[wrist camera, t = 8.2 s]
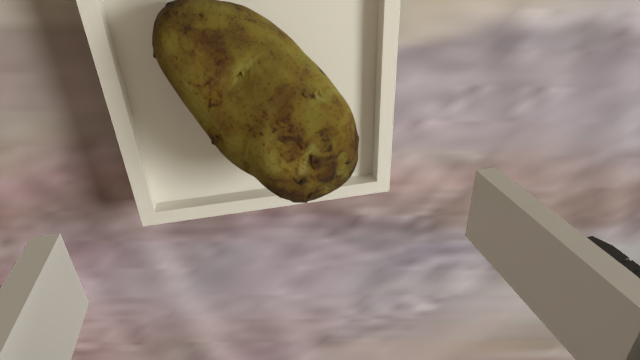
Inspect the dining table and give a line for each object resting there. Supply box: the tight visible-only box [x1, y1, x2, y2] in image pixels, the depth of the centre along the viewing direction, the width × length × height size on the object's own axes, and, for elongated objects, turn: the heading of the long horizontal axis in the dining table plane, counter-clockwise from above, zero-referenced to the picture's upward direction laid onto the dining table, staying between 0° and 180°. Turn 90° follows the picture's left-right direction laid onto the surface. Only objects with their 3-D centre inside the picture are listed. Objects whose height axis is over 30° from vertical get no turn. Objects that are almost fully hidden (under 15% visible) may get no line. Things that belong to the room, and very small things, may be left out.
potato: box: [152, 0, 359, 203], centre depth 24 cm, size 8×13×8 cm, turn 24°
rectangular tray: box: [76, 0, 400, 226], centre depth 28 cm, size 18×18×4 cm
